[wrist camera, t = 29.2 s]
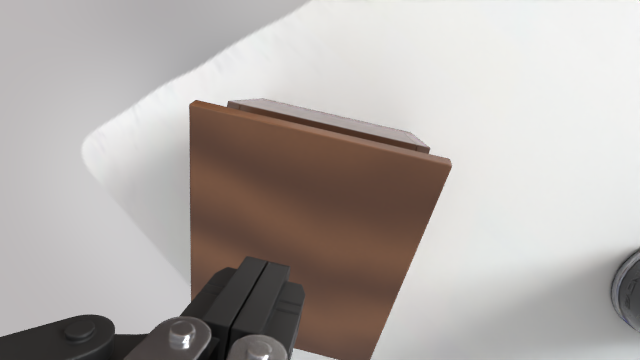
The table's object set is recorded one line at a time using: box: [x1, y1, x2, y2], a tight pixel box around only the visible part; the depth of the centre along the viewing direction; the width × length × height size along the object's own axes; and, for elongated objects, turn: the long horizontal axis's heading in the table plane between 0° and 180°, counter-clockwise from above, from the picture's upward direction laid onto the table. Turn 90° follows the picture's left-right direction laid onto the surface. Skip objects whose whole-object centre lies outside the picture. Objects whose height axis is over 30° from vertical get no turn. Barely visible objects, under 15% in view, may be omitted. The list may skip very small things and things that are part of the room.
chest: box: [227, 99, 430, 154], centre depth 30 cm, size 17×14×9 cm
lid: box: [189, 100, 452, 360], centre depth 23 cm, size 18×14×1 cm
